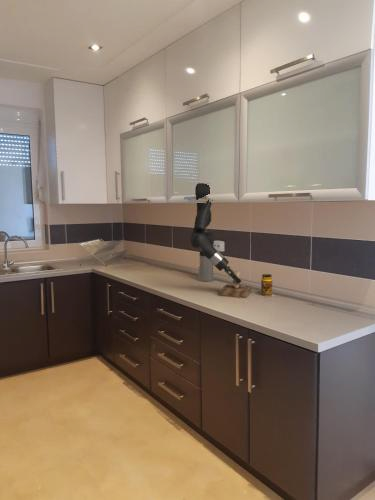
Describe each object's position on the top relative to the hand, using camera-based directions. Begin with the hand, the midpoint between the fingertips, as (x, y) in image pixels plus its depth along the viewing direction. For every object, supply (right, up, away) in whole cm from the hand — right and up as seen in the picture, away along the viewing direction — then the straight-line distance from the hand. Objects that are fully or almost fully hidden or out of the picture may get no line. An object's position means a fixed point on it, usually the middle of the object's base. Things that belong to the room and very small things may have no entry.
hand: (239, 281), depth 225 cm
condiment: (+15, -8, -1) cm, 17 cm away
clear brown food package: (-2, -8, +1) cm, 8 cm away
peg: (-2, -5, +1) cm, 5 cm away
